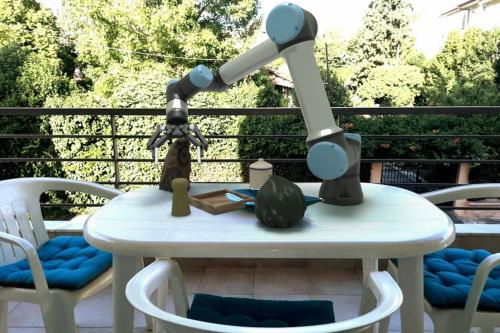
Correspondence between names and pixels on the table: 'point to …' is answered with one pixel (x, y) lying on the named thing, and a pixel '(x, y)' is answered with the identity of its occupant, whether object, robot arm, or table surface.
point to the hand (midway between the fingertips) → (178, 165)
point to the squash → (280, 203)
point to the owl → (176, 164)
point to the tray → (218, 201)
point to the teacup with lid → (259, 173)
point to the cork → (180, 198)
